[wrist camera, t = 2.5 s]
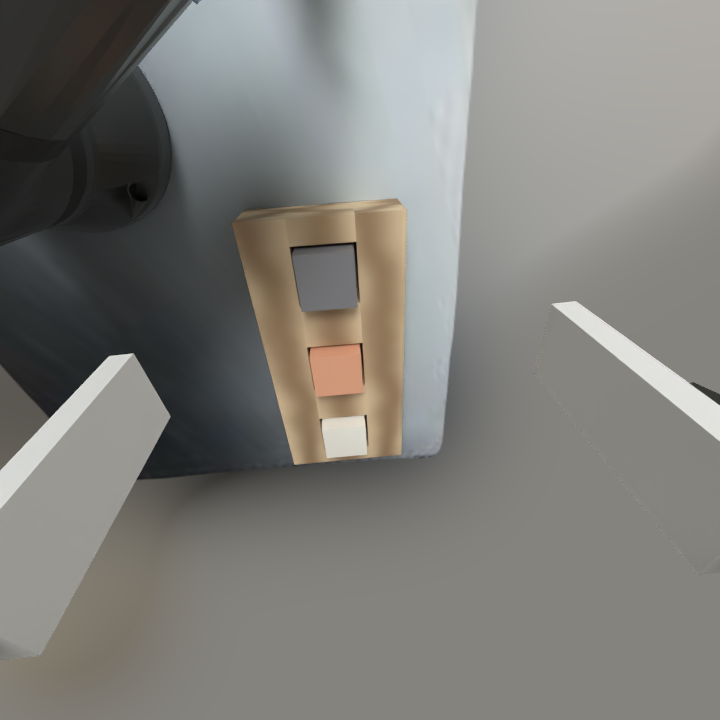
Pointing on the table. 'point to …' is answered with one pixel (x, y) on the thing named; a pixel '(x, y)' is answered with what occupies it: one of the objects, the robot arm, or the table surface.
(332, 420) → the cream key
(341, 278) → the charcoal key
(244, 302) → the table surface
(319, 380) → the salmon orange block
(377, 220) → the key console
